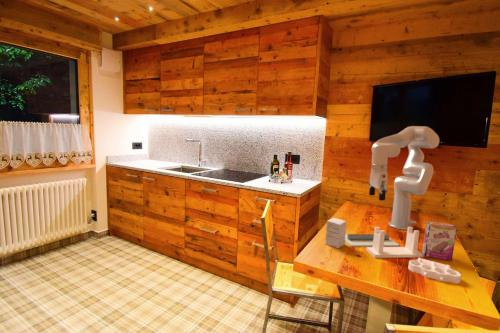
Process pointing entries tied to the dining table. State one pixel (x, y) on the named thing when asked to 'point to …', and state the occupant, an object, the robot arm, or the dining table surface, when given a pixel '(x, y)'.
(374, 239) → the hook rack
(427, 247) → the candy bar box
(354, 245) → the mat
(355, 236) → the rail
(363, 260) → the dining table surface
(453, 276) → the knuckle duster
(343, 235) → the supplement box
